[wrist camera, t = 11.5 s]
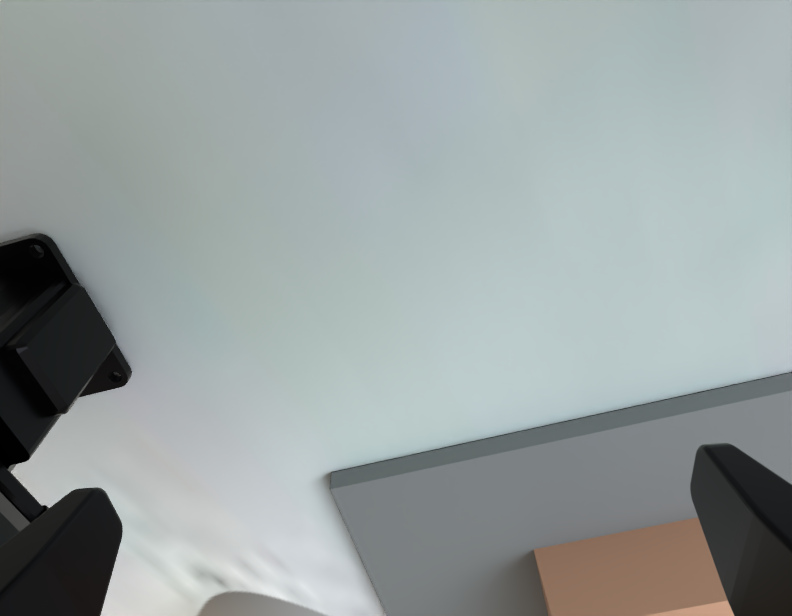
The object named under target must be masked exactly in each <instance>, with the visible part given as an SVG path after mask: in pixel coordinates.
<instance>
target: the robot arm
mask: <svg viewBox="0 0 792 616" xmlns="http://www.w3.org/2000/svg"><path fill="white" fill-rule="evenodd" d="M34 245H38V246H40V247H41V248H42V249H43V250H44V254H42V253H40V252H38V251H37V250H36V249H35V246H34ZM115 342H116V341H115V339H114V337H113V335H112V334H111V332H110V330H109V329H108V327H107V325H106V324H105V322H104V320H103V319H102V317H101V315H100V314H99V312H98V310H97V309H96V307H95V305H94V304H93V302H92V300H91V299H90V297H89V295H88V294H87V292H86V290H85V289H84V288H83V287H82V286H81V285H80V284H79V282H78V280H77V279H76V277H75V275H74V274H73V272H72V270H71V269H70V267H69V265H68V264H67V262H66V260H65V259H64V257H63V255H62V254H61V252H60V250H59V249H58V247H57V245H56V244H55V242H54V241H53V240H52V239H51V238H49V237H48V236H46V235H43V234H33V235H29V236H25V237H22V238H18V239H15V240H11V241H7V242H4V243H0V616H100V615H101V611H102V608H103V604H104V600H105V597H106V593H107V590H108V586H109V582H110V579H111V575H112V571H113V568H114V564H115V561H116V557H117V553H118V550H119V546H120V543H121V539H122V523H121V520H120V518H119V516H118V514H117V512H116V510H115V509H114V507H113V505H112V503H111V501H110V499H109V497H108V495H107V493H106V492H105V491H104V490H103V489H101V488H83V489H76V490H73V491H71V492H70V493H69V494H67V495H66V496H65V497H63V498H62V499H61V500H59V501H58V502H57V503H56V504H54V505H53V506H52V507H50V508H48V507H47V506H46V505H44V506H41V505H40V503H39V502H38V501H37V500H36V499H35V498H34V497H33V496H32V495H31V494H30V493H29V492H28V491H27V489H26V488H25V487H24V486H23V485H22V484H21V483H20V482H19V481H18V480H17V479H16V478H15V477H14V476H13V474H12V473H11V471H12V470H13V468H14V467H15V466H16V464H18V463H22V462H26V461H27V460H29V459H30V457H31V456H32V455H33V453H34V452H35V450H36V449H37V448H38V446H39V445H40V444H41V442H42V441H43V439H44V438H45V437H46V435H47V434H48V433H49V431H50V430H51V428H52V427H53V426H54V424H55V423H56V422H57V420H58V419H59V417H60V416H61V415H62V414H65V413H67V412H68V411H69V409H70V408H71V407H72V405H73V404H74V402H75V401H76V400H77V398H78V397H82V396H86V395H90V394H94V393H98V392H103V391H107V390H111V389H115V388H119V387H122V386H124V385H126V383H127V382H128V381H129V379H130V377H131V375H132V371H131V368H130V367H129V365H128V363H127V362H126V360H125V358H124V357H123V355H122V353H121V352H120V350H119V348H118V347H117V345H116V343H115ZM113 372H117V373H119V374H120V375H121V376H117V375H115V374H114V373H113ZM690 492H691V498H692V501H693V504H694V507H695V510H696V513H697V516H698V518H699V521H700V524H701V527H702V530H703V533H704V536H705V538H706V541H707V544H708V547H709V550H710V553H711V555H712V558H713V561H714V564H715V567H716V570H717V572H718V575H719V578H720V581H721V584H722V587H723V589H724V592H725V594H726V597H727V600H728V602H729V605H730V607H731V609H732V612H733V614H734V616H792V484H791V483H789V482H788V481H786V480H785V479H783V478H782V477H780V476H779V475H777V474H776V473H774V472H773V471H771V470H770V469H768V468H767V467H765V466H764V465H762V464H761V463H759V462H758V461H757V460H755V459H754V458H752V457H751V456H749V455H748V454H746V453H745V452H743V451H742V450H740V449H739V448H737V447H736V446H734V445H732V444H730V443H714V444H703V445H700V446H699V447H698V449H697V451H696V455H695V461H694V466H693V472H692V477H691V482H690Z"/></svg>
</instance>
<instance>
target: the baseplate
mask: <svg viewBox="0 0 792 616" xmlns="http://www.w3.org/2000/svg"><path fill="white" fill-rule="evenodd" d="M714 443H730V444H732V445H734V446H736V447H737V448H739V449H740V450H742V451H743V452H745V453H746V454H748V455H749V456H751V457H752V458H754V459H755V460H757V461H758V462H759V463H761V464H762V465H764V466H765V467H767V468H768V469H770V470H771V471H773V472H774V473H776V474H777V475H779V476H780V477H782V478H783V479H785V480H786V481H788V482H789V483H791V484H792V373H787V374H783V375H778V376H774V377H769V378H764V379H760V380H755V381H751V382H746V383H741V384H737V385H732V386H728V387H723V388H718V389H714V390H709V391H705V392H700V393H695V394H691V395H686V396H682V397H677V398H672V399H668V400H663V401H659V402H654V403H649V404H645V405H640V406H636V407H631V408H626V409H622V410H617V411H613V412H608V413H603V414H599V415H594V416H590V417H585V418H580V419H576V420H571V421H567V422H562V423H557V424H553V425H548V426H544V427H539V428H534V429H530V430H525V431H521V432H516V433H511V434H507V435H502V436H498V437H493V438H488V439H484V440H479V441H475V442H470V443H465V444H461V445H456V446H452V447H447V448H442V449H438V450H433V451H429V452H424V453H419V454H415V455H410V456H406V457H401V458H396V459H392V460H387V461H383V462H378V463H373V464H369V465H364V466H360V467H355V468H350V469H346V470H341V471H337V472H332V473H331V484H330V491H331V493H332V495H333V497H334V500H335V502H336V504H337V506H338V508H339V511H340V513H341V515H342V517H343V520H344V522H345V524H346V526H347V528H348V531H349V533H350V535H351V537H352V539H353V542H354V544H355V546H356V548H357V551H358V553H359V555H360V557H361V559H362V562H363V564H364V566H365V568H366V570H367V573H368V575H369V577H370V579H371V582H372V584H373V586H374V588H375V590H376V593H377V595H378V597H379V599H380V601H381V604H382V606H383V608H384V610H385V613H386V615H387V616H548V612H547V607H546V603H545V598H544V594H543V589H542V585H541V580H540V576H539V571H538V567H537V562H536V558H535V554H534V549H538V548H544V547H549V546H554V545H559V544H564V543H569V542H574V541H579V540H584V539H590V538H595V537H600V536H605V535H610V534H615V533H620V532H625V531H630V530H635V529H641V528H646V527H651V526H656V525H661V524H666V523H671V522H676V521H681V520H687V519H692V518H697V517H698V516H697V513H696V510H695V507H694V504H693V501H692V498H691V492H690V482H691V477H692V472H693V466H694V461H695V455H696V451H697V449H698V447H699V446H700V445H703V444H714Z"/></svg>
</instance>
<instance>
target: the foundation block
mask: <svg viewBox="0 0 792 616" xmlns="http://www.w3.org/2000/svg"><path fill="white" fill-rule="evenodd" d="M534 554H535V558H536V562H537V567H538V571H539V576H540V580H541V585H542V589H543V594H544V598H545V603H546V607H547V612H548V616H734V614H733V612H732V609H731V607H730V605H729V602H728V600H727V597H726V594H725V592H724V589H723V587H722V584H721V581H720V578H719V575H718V572H717V570H716V567H715V564H714V561H713V558H712V555H711V553H710V550H709V547H708V544H707V541H706V538H705V536H704V533H703V530H702V527H701V524H700V521H699V518H698V517H697V518H692V519H687V520H681V521H676V522H671V523H666V524H661V525H656V526H651V527H646V528H641V529H635V530H630V531H625V532H620V533H615V534H610V535H605V536H600V537H595V538H590V539H584V540H579V541H574V542H569V543H564V544H559V545H554V546H549V547H544V548H538V549H534Z"/></svg>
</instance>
